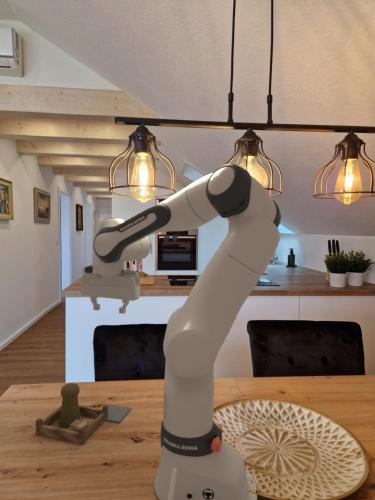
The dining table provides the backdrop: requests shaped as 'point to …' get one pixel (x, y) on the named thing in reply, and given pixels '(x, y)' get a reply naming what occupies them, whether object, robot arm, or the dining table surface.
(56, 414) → the frame
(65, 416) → the cork
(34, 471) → the dining table surface
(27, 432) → the dining table surface
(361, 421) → the dining table surface
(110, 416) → the slate coaster
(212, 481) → the robot arm
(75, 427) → the offcut stack
